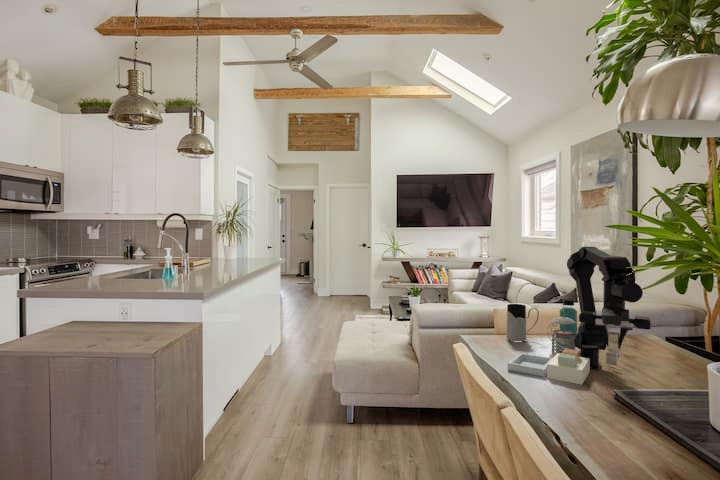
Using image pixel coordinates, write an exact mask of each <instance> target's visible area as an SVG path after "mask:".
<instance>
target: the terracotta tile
mask: <svg viewBox="0 0 720 480" xmlns="http://www.w3.org/2000/svg"><path fill="white" fill-rule="evenodd" d="M563 349H564V350H563V351H562V354H569V355H575V356H576V361H578V360H579V358H580V349H575V350H572V349H567V348H563Z"/></svg>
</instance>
